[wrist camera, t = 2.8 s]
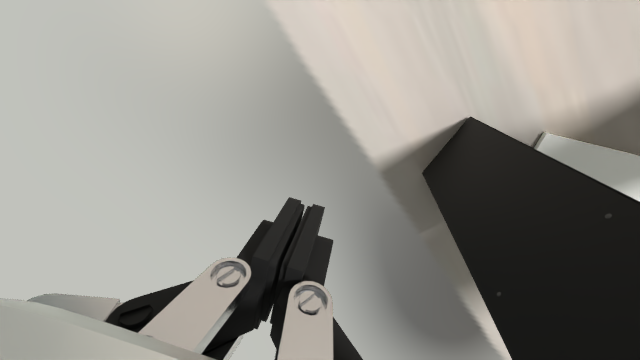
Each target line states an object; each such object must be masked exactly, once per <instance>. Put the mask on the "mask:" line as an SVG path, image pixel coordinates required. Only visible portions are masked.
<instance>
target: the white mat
mask: <svg viewBox="0 0 640 360" xmlns="http://www.w3.org/2000/svg"><path fill="white" fill-rule="evenodd" d="M534 149H536V150H538V151H540V152H542V153H544V154H546V155H548V156H550V157H552V158H554V159H556V160H558V161H560V162H562V163H564V164H566V165H568V166H570V167H572V168H574V169H576V170H578V171H580V172H582V173H584V174H586V175H588V176H590V177H592V178H594V179H596V180H598V181H600V182H602V183H604V184H606V185H608V186H610V187H612V188H614V189H616V190H618V191H620V192H622V193H623V194H625V195H627V196H629V197H631V198H633V199H635V200H637V201H639V202H640V155H635V154H631V153H627V152H623V151H619V150H615V149H611V148H607V147H603V146H599V145H595V144H591V143H587V142H583V141H578V140H574V139H570V138H566V137H562V136H558V135H554V134H550V133H546V132H544V133H543V134H542V136H541V138H540V139H539V141H538V142H537V144H536V146H535V147H534Z"/></svg>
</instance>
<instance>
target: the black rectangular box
mask: <svg viewBox="0 0 640 360" xmlns="http://www.w3.org/2000/svg"><path fill="white" fill-rule="evenodd" d="M422 174H423V176H424V178H425V180H426V182H427V184H428V186H429V188H430V190H431V192H432V194H433V196H434V198H435V200H436V203H437V205H438V207H439V209H440V211H441V213H442V215H443V217H444V219H445V221H446V223H447V225H448V227H449V229H450V232H451V234H452V236H453V238H454V240H455V242H456V244H457V246H458V248H459V250H460V252H461V254H462V256H463V259H464V261H465V263H466V265H467V267H468V269H469V271H470V273H471V275H472V277H473V279H474V281H475V283H476V285H477V288H478V290H479V292H480V294H481V296H482V298H483V300H484V302H485V304H486V306H487V308H488V310H489V312H490V314H491V317H492V319H493V321H494V323H495V325H496V327H497V329H498V331H499V333H500V335H501V337H502V339H503V341H504V343H505V346H506V348H507V350H508V352H509V354H510V356H511V358H512V360H640V202H639V201H637V200H635V199H633V198H631V197H629V196H627V195H625V194H623V193H622V192H620V191H618V190H616V189H614V188H612V187H610V186H608V185H606V184H604V183H602V182H600V181H598V180H596V179H594V178H592V177H590V176H588V175H586V174H584V173H582V172H580V171H578V170H576V169H574V168H572V167H570V166H568V165H566V164H564V163H562V162H560V161H558V160H556V159H554V158H552V157H550V156H548V155H546V154H544V153H542V152H540V151H538V150H536V149H534V148H532V147H530V146H528V145H526V144H524V143H522V142H520V141H518V140H516V139H514V138H512V137H510V136H508V135H506V134H504V133H502V132H500V131H498V130H496V129H494V128H492V127H490V126H488V125H486V124H484V123H482V122H480V121H478V120H476V119H474V118H472V117H469V118H468V119H467V121H466V122H465V123H464V124H463V125H462V127H461V128H460V129H459V130H458V131H457V132H456V134H455V135H454V136H453V137H452V138H451V140H450V141H449V142H448V143H447V144H446V145H445V147H444V148H443V149H442V150H441V151H440V153H439V154H438V155H437V156H436V157H435V158H434V160H433V161H432V162H431V163H430V164H429V166H428V167H427V168H426V169H425V170H424V171H423V173H422Z"/></svg>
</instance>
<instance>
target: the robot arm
mask: <svg viewBox="0 0 640 360" xmlns="http://www.w3.org/2000/svg"><path fill="white" fill-rule="evenodd" d="M324 208H325V207H322V206H318V205H315V204H313V206H312V207H310V206H308V207H307V209H306V211H305V213H304V216H303V218H302V215H303V211H304V205H303V204H301V201H300V200H297V199H293V198H288V200H287V202H286V203H285V205H284V206H283V208H282V210H281V211H280V213H279V214H278V216H277V218H276V219H275V221H274V222H270V221H266V220H263V221H262V222H261V224H260V225H259V226H258V228H257V229H256V231H255V232H254V234H253V235H252V236H251V238H250V239H249V241H248V242H247V244H246V245H245V246H244V248H243V249H242V251H241V252H240V254H239V255H238V256H237V258H223V259H220V260H218V261H216V262H214V263H213V264H212V265H210V266H209V267H208V268H207V269H206V270H205V271H204V272H203V273H202V274H201V275H199V276H198V277H197V278H196V279H195V280H194V281H190V282H187V283H184V284H180V285H177V286H174V287H170V288H167V289H164V290H161V291H157V292H154V293H150V294H147V295H144V296H140V297H137V298H134V299H131V300H129V301H127V302H125V303H120V300H119V299H113V298H102V297H90V296H78V295H66V294H65V295H64V294H44V295H41V296H37V297H34V298H31V299H29V300H27V301H24V300H14V299H0V360H229V359H230V357H231V356H232V354H233V352H234V351H235V349H236V348H237V346H238V345H239V343H240V341H241V339H242V337H243V334H245V333H247V332H249V331H252V330H253V329H254V328H255V329H258V327H259V325H260V322H261V320H262V321H265V322H266V321H267V319H268V316H269V314H270V311H271V309H272V306H273V310H272V315H271V320H270V323H271V324H272V329H271V334H270V336H271V338H272V341H273V343H274V345H275V347H276V349H277V350H276V355H275V360H363V359H362V358H361V356H360V355H359V353H358V352H357V350H356V349H355V348H354V346H353V345H352V343H351V342H350V341H349V339H348V338H347V336H346V335H345V333H344V332H343V330H342V329H341V327H340V326H339V325H338V323H337V322H336V320H335V319H334V317H333V303H332V297H331V295H330V293H329V292H328V290H327V289H326V288H325V287H324V282H325V278H326V272H327V268H328V264H329V259H330V254H331V250H332V245H333V240H331V239H328V238H324V237H321V236H318V232H319V227H320V224H321V220H322V216H323V213H324ZM273 304H274V305H273Z"/></svg>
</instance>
